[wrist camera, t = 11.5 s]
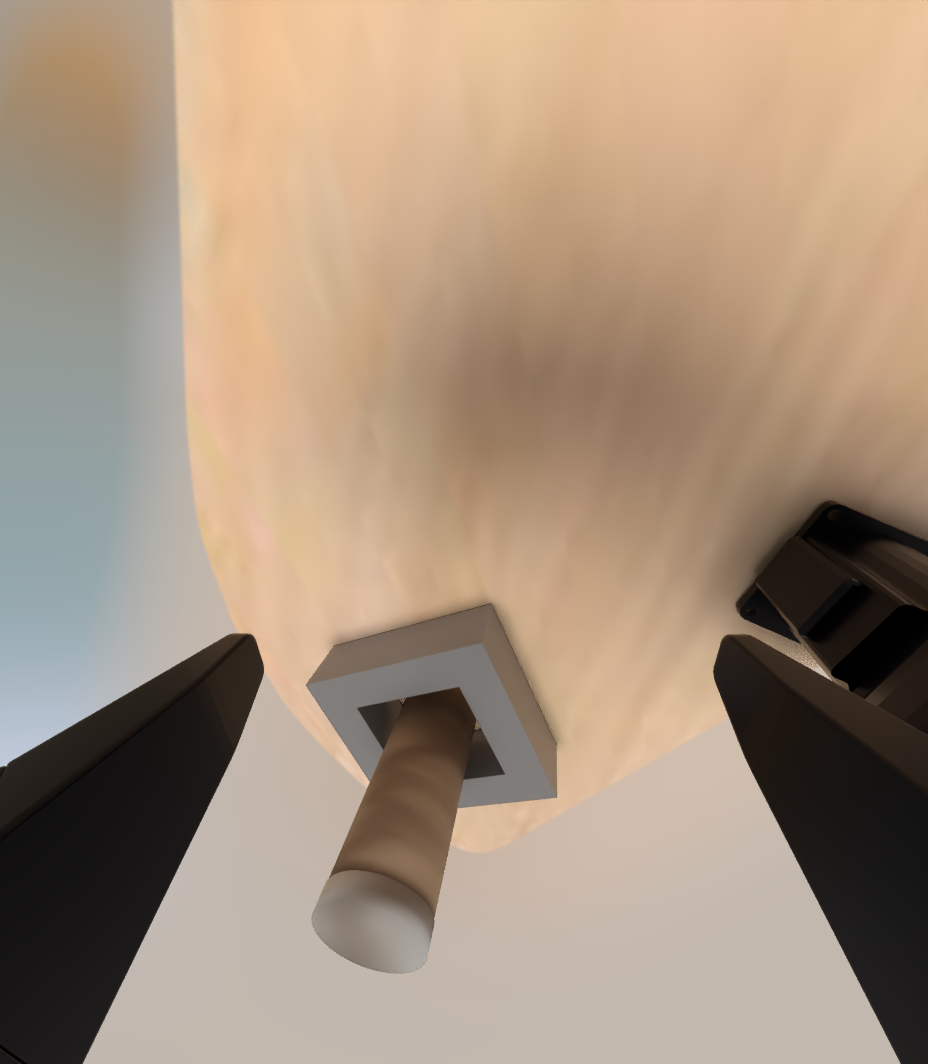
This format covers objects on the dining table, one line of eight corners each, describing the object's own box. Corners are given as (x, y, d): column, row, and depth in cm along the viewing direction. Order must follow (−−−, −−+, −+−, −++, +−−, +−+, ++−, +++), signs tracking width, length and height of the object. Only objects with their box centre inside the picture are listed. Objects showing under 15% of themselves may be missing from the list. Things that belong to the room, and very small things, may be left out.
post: (474, 666, 26) (412, 910, 15) (486, 723, 28) (438, 982, 16) (403, 666, 27) (296, 894, 16) (418, 721, 29) (330, 962, 18)
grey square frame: (491, 603, 24) (482, 642, 21) (556, 745, 27) (557, 797, 24) (333, 646, 27) (305, 685, 24) (408, 766, 31) (392, 815, 28)
